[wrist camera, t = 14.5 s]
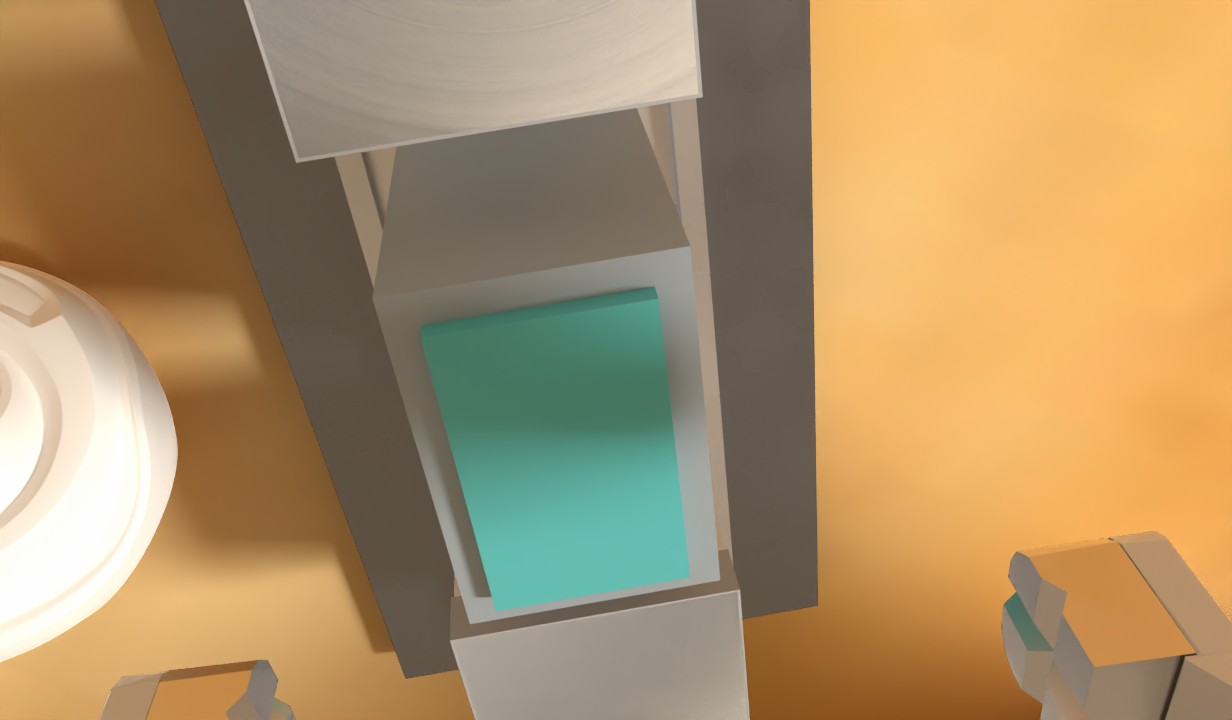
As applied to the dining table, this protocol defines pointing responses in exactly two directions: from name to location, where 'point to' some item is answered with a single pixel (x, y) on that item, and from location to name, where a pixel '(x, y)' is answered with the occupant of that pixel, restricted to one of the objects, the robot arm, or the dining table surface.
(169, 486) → the white lumpy ball
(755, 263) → the rail panel
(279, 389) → the dining table surface
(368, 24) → the plate
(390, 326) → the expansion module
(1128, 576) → the robot arm
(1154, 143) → the dining table surface
